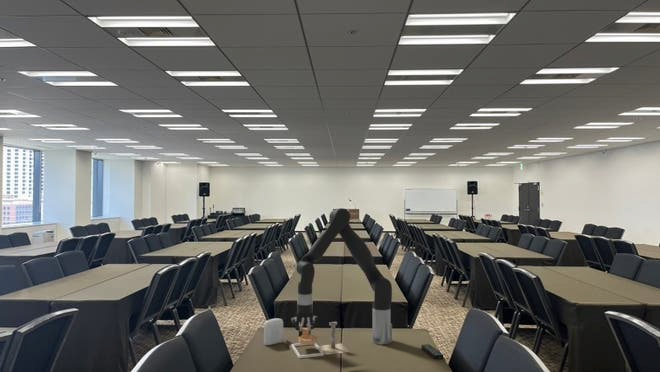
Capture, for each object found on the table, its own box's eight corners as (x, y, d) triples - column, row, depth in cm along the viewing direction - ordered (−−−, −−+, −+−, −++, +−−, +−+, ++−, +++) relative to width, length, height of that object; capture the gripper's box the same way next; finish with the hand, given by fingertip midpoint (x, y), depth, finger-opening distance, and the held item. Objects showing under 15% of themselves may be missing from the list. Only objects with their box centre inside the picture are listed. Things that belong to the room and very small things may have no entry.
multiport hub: (429, 348, 204) (429, 344, 205) (443, 359, 190) (443, 354, 190) (421, 349, 203) (421, 344, 204) (434, 360, 189) (434, 355, 189)
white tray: (314, 346, 206) (314, 341, 206) (324, 358, 190) (324, 353, 190) (291, 349, 202) (291, 344, 202) (298, 361, 187) (298, 356, 187)
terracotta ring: (312, 335, 204) (312, 327, 204) (318, 343, 192) (319, 335, 192) (295, 336, 201) (295, 328, 202) (301, 345, 189) (301, 336, 190)
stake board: (341, 346, 206) (341, 318, 207) (350, 355, 195) (350, 325, 195) (318, 348, 203) (318, 320, 203) (325, 357, 191) (325, 328, 192)
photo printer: (280, 340, 215) (280, 316, 215) (284, 342, 211) (284, 318, 212) (262, 343, 209) (262, 319, 210) (265, 346, 206) (266, 321, 206)
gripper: (316, 299, 207) (316, 334, 207) (289, 301, 203) (288, 336, 203) (320, 303, 200) (320, 339, 200) (292, 305, 196) (292, 342, 195)
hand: (304, 337), depth 201 cm, fingers closed on terracotta ring, 3 cm apart
